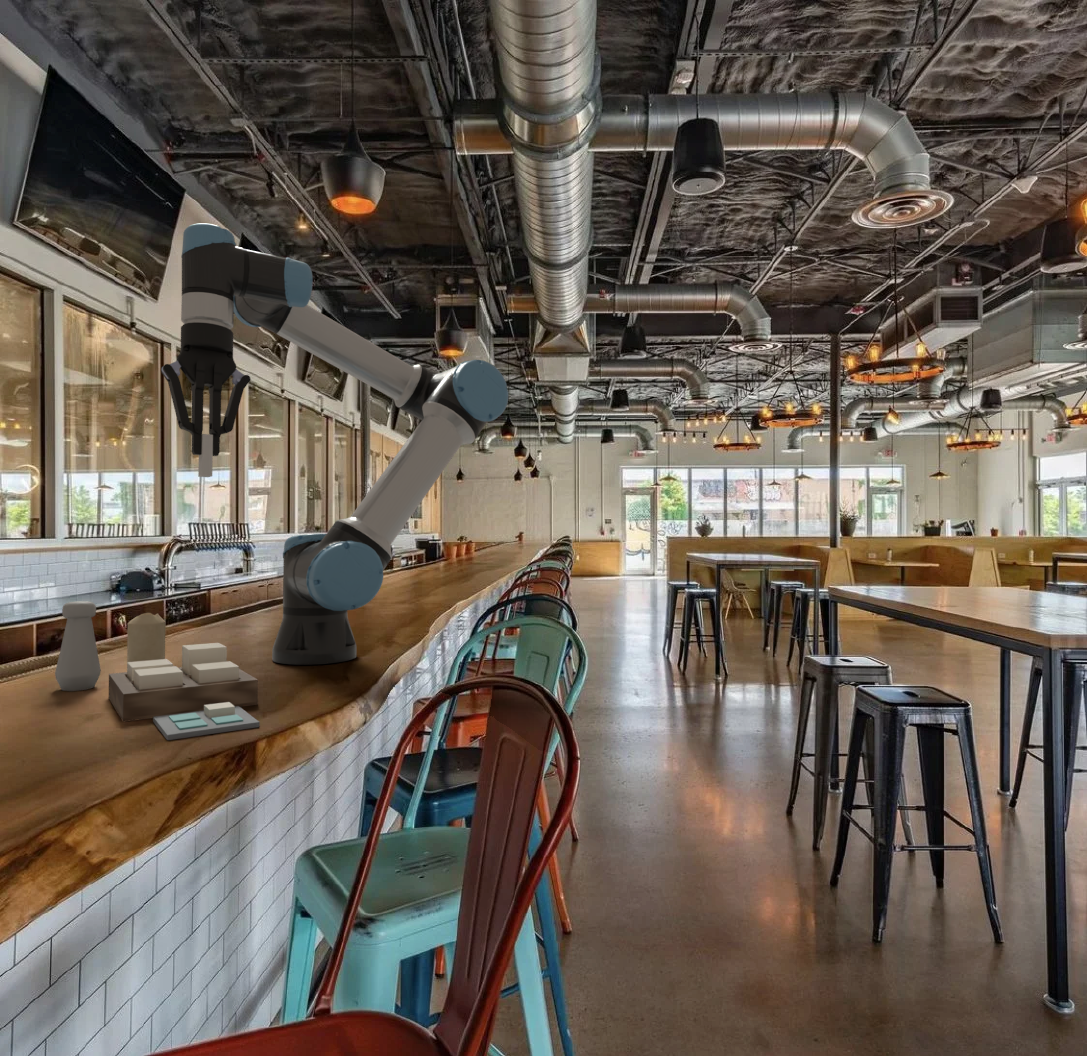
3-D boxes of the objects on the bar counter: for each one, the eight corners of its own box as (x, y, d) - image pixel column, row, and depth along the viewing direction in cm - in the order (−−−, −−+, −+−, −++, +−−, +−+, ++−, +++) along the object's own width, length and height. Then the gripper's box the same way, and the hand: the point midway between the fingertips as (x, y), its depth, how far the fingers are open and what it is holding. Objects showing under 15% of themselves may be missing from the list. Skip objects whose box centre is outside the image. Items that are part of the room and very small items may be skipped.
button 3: (229, 687, 102) (229, 661, 103) (238, 693, 98) (238, 666, 99) (191, 691, 99) (191, 664, 100) (198, 697, 95) (199, 670, 96)
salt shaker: (46, 689, 106) (47, 602, 106) (86, 682, 111) (87, 599, 112) (68, 693, 104) (70, 604, 104) (108, 686, 109) (110, 601, 109)
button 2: (175, 693, 98) (175, 666, 98) (182, 699, 94) (182, 671, 94) (133, 697, 95) (134, 669, 95) (139, 704, 91) (139, 675, 91)
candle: (128, 672, 120) (129, 612, 121) (165, 669, 123) (166, 611, 123) (125, 678, 115) (126, 615, 116) (163, 675, 118) (164, 614, 118)
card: (238, 710, 95) (238, 698, 95) (259, 726, 87) (259, 713, 87) (152, 721, 89) (153, 708, 89) (167, 740, 81) (167, 726, 81)
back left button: (218, 667, 108) (218, 642, 108) (226, 672, 104) (226, 646, 104) (181, 670, 105) (182, 645, 105) (188, 676, 101) (189, 649, 101)
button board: (228, 684, 111) (229, 662, 111) (257, 704, 98) (257, 679, 98) (108, 697, 101) (108, 673, 101) (123, 721, 88) (123, 694, 88)
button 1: (166, 684, 104) (166, 658, 104) (172, 690, 100) (173, 664, 100) (126, 688, 101) (127, 662, 101) (131, 695, 97) (132, 667, 97)
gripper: (244, 339, 120) (242, 480, 120) (157, 325, 112) (154, 475, 112) (257, 329, 114) (255, 477, 114) (165, 313, 106) (163, 472, 106)
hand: (205, 476), depth 113 cm, fingers closed
